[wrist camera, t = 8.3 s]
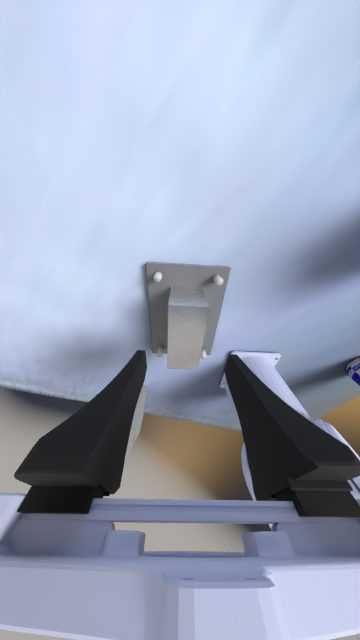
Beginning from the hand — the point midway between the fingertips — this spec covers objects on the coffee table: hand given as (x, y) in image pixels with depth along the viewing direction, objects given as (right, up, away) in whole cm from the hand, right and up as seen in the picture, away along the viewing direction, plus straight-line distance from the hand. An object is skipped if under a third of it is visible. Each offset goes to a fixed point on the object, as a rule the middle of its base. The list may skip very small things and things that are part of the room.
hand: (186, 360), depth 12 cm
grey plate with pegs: (0, +4, +7) cm, 8 cm away
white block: (0, +4, +6) cm, 7 cm away
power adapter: (-9, -12, +17) cm, 22 cm away
